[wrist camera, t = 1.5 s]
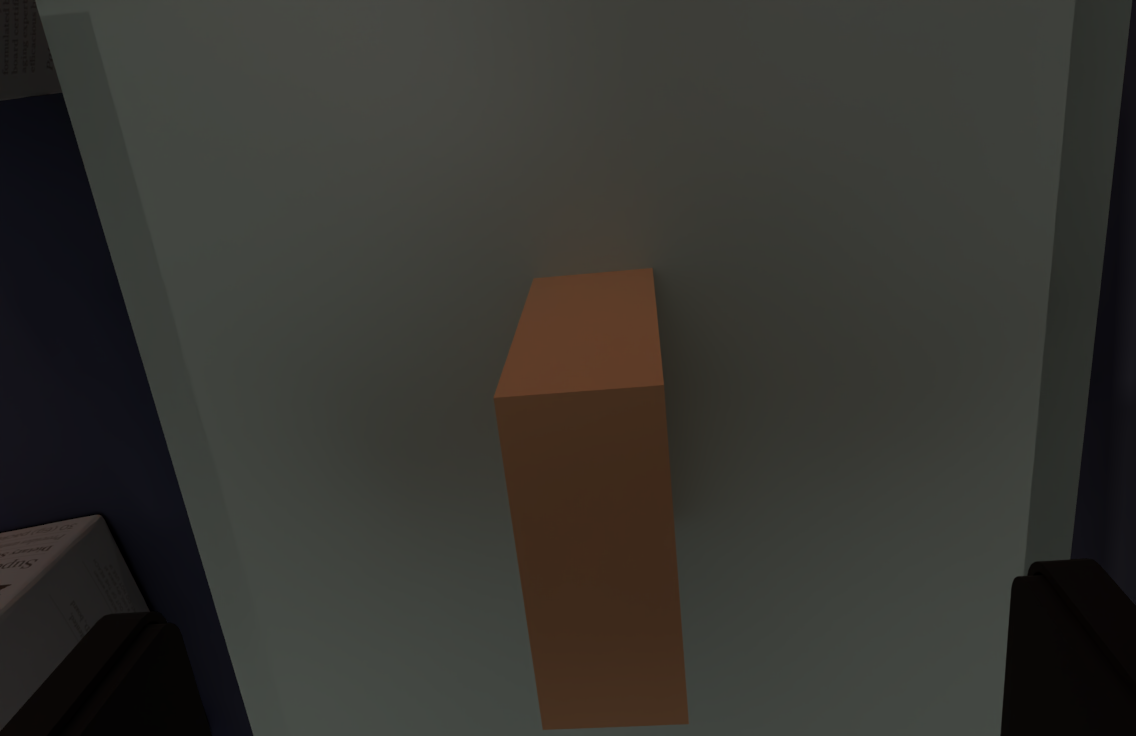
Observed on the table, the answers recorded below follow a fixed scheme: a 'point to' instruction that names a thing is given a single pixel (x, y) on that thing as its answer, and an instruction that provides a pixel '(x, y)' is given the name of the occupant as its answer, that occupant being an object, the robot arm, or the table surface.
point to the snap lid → (610, 344)
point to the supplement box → (55, 599)
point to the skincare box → (24, 52)
